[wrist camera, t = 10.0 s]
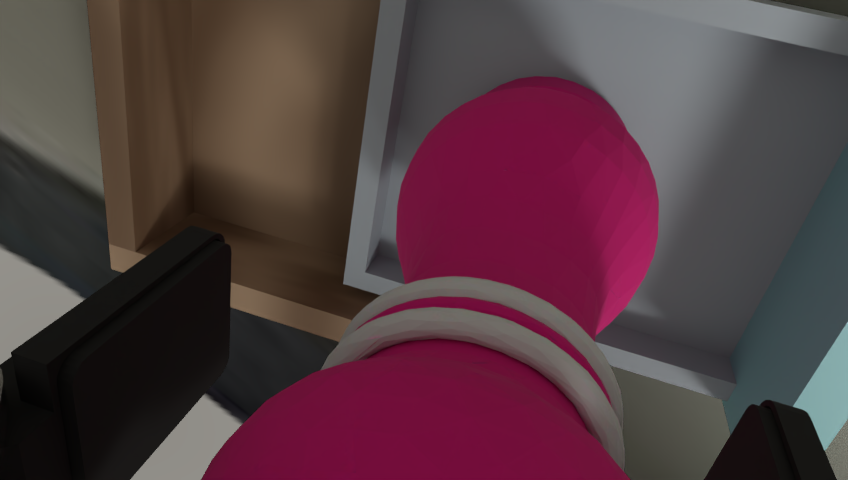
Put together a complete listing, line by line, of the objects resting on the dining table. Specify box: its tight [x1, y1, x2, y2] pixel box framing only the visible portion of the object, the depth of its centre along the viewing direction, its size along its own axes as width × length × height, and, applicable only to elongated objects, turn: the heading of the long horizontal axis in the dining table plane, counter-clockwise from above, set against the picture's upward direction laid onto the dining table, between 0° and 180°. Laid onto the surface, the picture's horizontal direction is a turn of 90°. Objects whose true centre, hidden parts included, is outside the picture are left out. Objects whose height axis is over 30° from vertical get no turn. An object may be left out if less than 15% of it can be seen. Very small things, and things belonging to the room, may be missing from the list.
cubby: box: [87, 0, 381, 342], centre depth 22 cm, size 18×16×5 cm
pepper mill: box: [201, 76, 659, 480], centre depth 13 cm, size 7×7×20 cm
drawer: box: [343, 0, 848, 451], centre depth 19 cm, size 16×13×6 cm
